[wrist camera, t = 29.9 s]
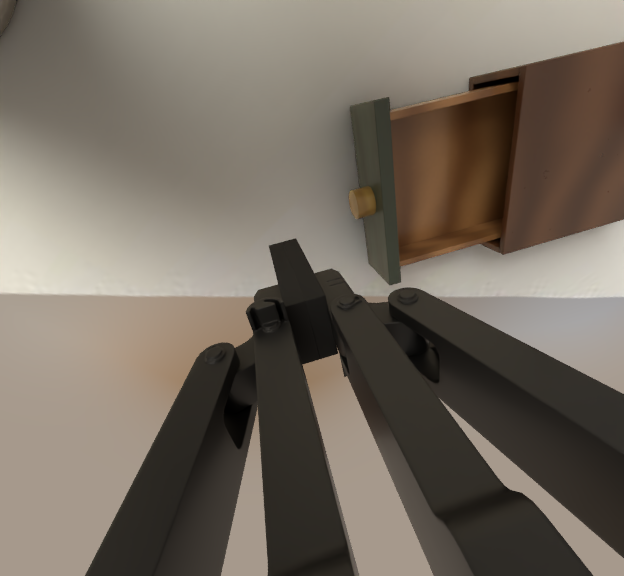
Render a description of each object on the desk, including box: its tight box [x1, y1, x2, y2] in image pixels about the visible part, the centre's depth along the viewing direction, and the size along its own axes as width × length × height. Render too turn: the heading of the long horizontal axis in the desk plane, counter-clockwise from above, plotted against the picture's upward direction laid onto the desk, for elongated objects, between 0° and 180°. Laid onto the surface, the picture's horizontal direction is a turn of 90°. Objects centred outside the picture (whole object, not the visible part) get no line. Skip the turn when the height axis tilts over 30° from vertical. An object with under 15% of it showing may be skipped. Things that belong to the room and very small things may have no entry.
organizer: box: [469, 42, 624, 255], centre depth 25 cm, size 15×13×5 cm
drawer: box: [349, 79, 519, 285], centre depth 24 cm, size 17×13×5 cm
